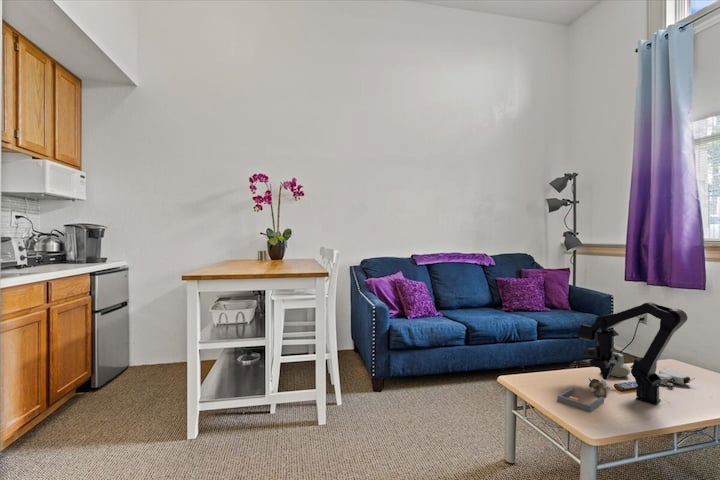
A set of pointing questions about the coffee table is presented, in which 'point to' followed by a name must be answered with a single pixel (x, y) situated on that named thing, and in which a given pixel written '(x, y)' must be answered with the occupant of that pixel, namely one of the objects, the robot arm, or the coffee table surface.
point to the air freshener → (620, 367)
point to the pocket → (576, 403)
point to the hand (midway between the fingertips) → (605, 379)
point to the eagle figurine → (598, 387)
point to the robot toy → (673, 377)
